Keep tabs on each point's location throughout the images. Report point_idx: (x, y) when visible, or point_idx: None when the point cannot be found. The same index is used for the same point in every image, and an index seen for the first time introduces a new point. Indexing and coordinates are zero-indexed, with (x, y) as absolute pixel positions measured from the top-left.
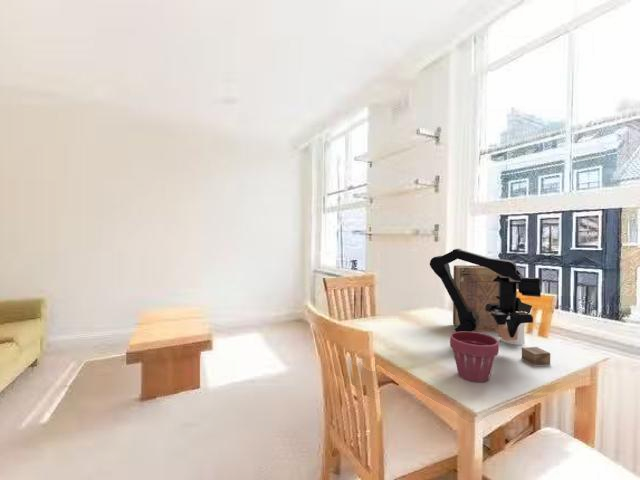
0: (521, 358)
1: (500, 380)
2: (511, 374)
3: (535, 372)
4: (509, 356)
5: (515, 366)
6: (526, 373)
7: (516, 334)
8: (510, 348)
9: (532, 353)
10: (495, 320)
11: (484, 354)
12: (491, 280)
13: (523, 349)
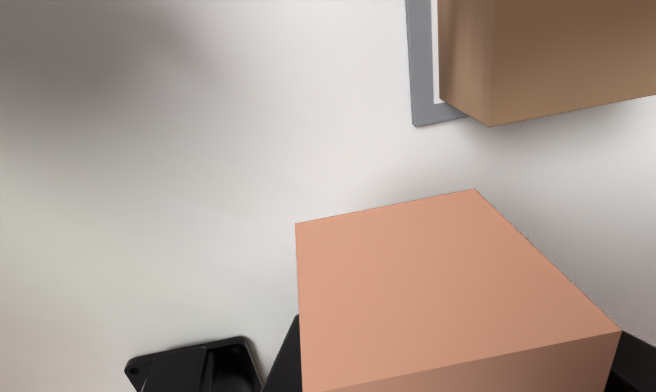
0: (437, 99)
1: (651, 337)
2: (620, 271)
3: (653, 120)
4: (358, 161)
5: (535, 204)
6: (641, 187)
7: (516, 246)
8: (133, 48)
9: (646, 93)
10: None
11: None
12: None
13: (509, 119)
